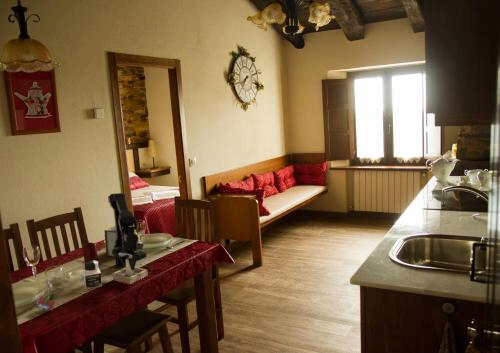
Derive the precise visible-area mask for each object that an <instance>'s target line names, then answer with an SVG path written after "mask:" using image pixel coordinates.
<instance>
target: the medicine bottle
mask: <svg viewBox="0 0 500 353" xmlns="http://www.w3.org/2000/svg"><path fill="white" fill-rule="evenodd" d="M83 281H84V283H85V284H84V287H85V289H86V290H90V289H95V288H96V289H97V288H100V287H102V286H103V283H102V272H101V270H100V268H99V261H98V260H94V259H93V260H87V261H86V262H85V263H84V270H83Z"/></svg>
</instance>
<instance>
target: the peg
mask: <svg viewBox="0 0 500 353" xmlns="http://www.w3.org/2000/svg"><path fill="white" fill-rule="evenodd" d="M130 258H131V257H129V258H127V259H126V274H127V277H132V276H134V270H131V267H130V264H129V260H128V259H130Z"/></svg>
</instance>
